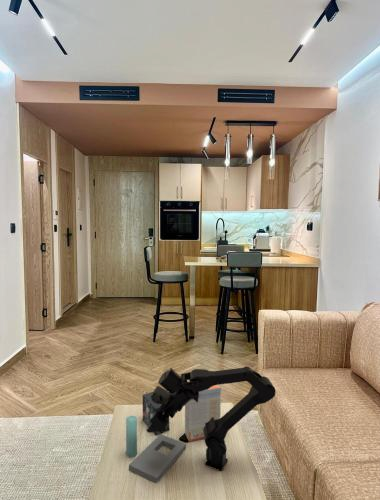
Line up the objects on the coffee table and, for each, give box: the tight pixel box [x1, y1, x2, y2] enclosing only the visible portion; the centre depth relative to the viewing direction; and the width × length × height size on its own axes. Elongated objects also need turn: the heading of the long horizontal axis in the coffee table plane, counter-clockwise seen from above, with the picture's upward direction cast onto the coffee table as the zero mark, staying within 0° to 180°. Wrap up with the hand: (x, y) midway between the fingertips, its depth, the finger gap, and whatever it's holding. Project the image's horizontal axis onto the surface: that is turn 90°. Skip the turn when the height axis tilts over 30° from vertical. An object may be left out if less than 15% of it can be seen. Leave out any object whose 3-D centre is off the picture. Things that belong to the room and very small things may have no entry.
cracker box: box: [184, 385, 222, 442], centre depth 137 cm, size 14×6×21 cm, turn 108°
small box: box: [142, 390, 170, 436], centre depth 144 cm, size 13×7×12 cm, turn 33°
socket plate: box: [128, 433, 187, 484], centre depth 123 cm, size 12×20×2 cm, turn 151°
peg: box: [125, 415, 138, 459], centre depth 125 cm, size 4×4×14 cm
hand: (152, 423), depth 124 cm, fingers open, 9 cm apart
